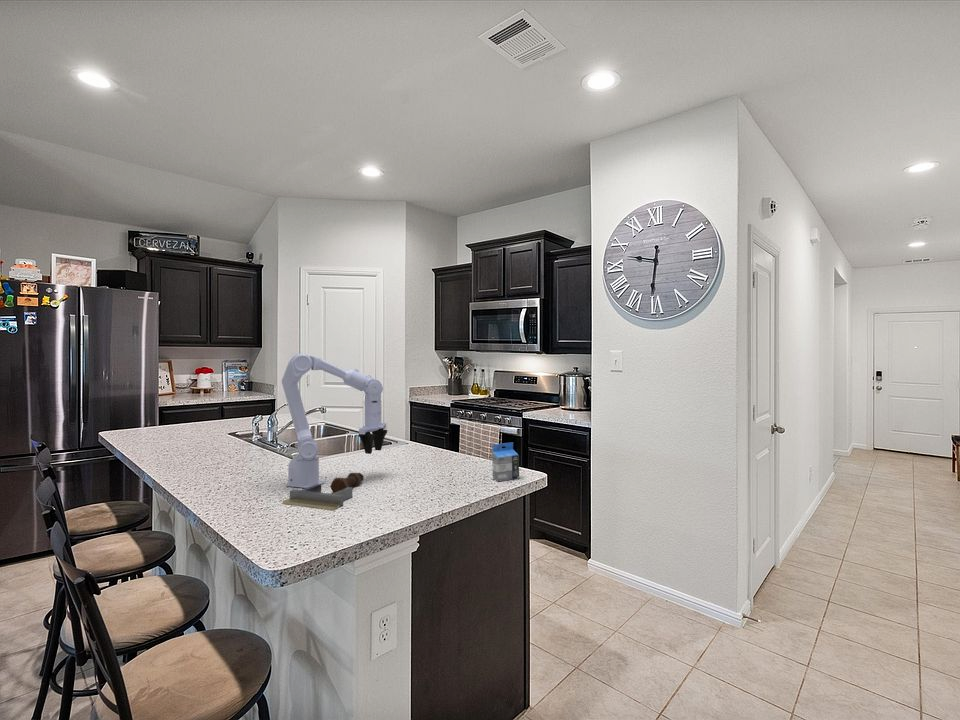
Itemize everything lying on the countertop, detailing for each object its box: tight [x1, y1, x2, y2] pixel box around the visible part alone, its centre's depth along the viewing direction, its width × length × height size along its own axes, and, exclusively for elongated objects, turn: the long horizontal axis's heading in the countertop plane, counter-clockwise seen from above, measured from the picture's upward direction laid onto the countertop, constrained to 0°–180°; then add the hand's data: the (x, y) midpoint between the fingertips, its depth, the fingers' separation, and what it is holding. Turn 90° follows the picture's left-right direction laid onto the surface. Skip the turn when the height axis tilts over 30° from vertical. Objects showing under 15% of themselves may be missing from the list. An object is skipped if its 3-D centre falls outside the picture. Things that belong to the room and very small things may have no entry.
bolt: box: [330, 472, 365, 494], centre depth 165 cm, size 6×5×15 cm
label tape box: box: [491, 442, 520, 482], centre depth 175 cm, size 9×4×12 cm, turn 120°
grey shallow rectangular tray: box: [281, 484, 353, 511], centre depth 150 cm, size 18×12×3 cm
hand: (373, 451), depth 177 cm, fingers open, 6 cm apart
